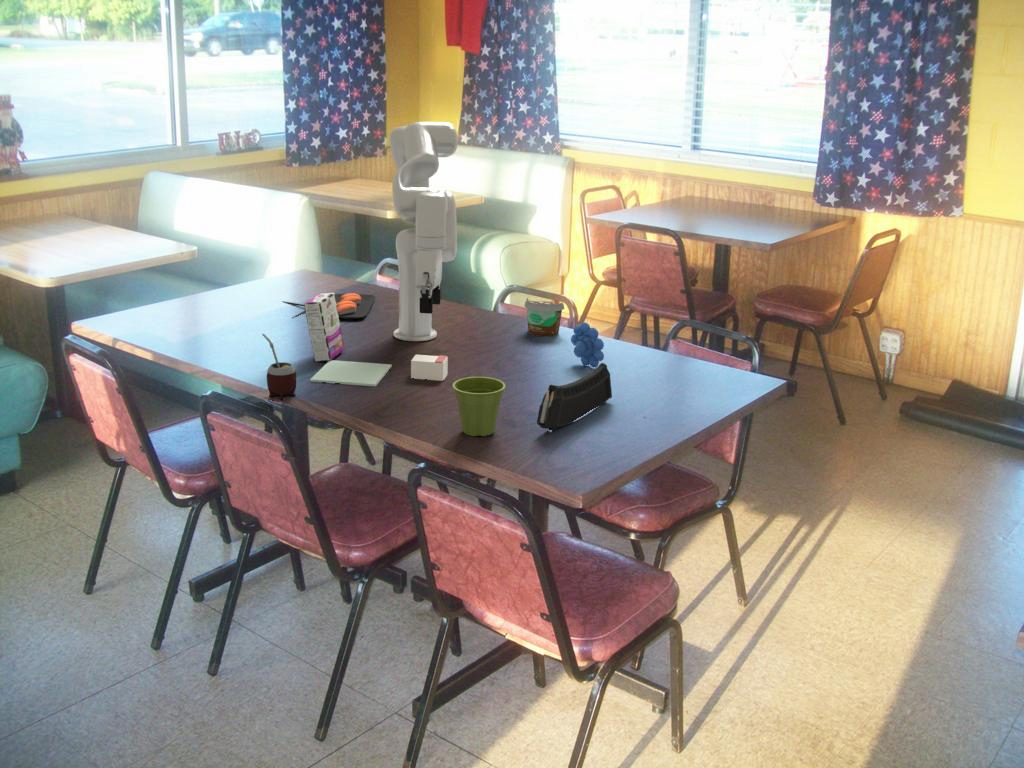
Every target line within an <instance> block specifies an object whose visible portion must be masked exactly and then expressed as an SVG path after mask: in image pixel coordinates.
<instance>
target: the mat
mask: <svg viewBox="0 0 1024 768" xmlns="http://www.w3.org/2000/svg"><path fill="white" fill-rule="evenodd" d="M392 367H393V365H392V364H389V363H388V364H387V363H377V362H376V363H375V362H362V361H350V360H349V361H347V360H337V359H336V360H335V359H334V360H333V359H332V360H331V361H327V362H326V363H325V364H324V365H323V366H322V367H321V368H320V369H319V370H318V371H317V372H316V373H315V374H314V375H313V376H312V377H311V378H310V380H309V382H312V383H322V382H326V383H325V384H335V383H340V384H339V385H347V386H348V385H349V386H364V387H377V385H378V384H379V383H380V382H381V380H383V378H384V377H385V376H386V374H387V373H389V371H390V370H389V369H392Z"/></svg>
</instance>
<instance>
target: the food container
mask: <svg viewBox="0 0 1024 768" xmlns="http://www.w3.org/2000/svg"><path fill="white" fill-rule="evenodd" d="M523 306H524V308H525V309H526V317H527V332H529V333H528V334H530V335H532V334H533V336H535V335H538V336H537V337H545V336H546V337H554V336H553V335H555V336H558V335H559V332H560V325H561V319H562V311H563V310H565V304H564V301H561V302H559V303H552V302H549V301H543V300H542V301H541V300H540V301H536V300H535V301H533V300H529V298H528V297H526V299H525V301H524V305H523ZM557 334H558V335H557Z"/></svg>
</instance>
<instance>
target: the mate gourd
mask: <svg viewBox="0 0 1024 768" xmlns="http://www.w3.org/2000/svg"><path fill="white" fill-rule="evenodd" d="M261 335H262V336H263V337H264V339H266V341H267V342H268V343H269V347H270V349H271V351H272V355H273V357H274V361H275V362H274V363H271V364H270V365H269V366H268V369H267V373H266V385H267V389H268V393H269V395H268V397H269V398H270V399H272V398H279V400H280V402H283V401H284V399H285V398H295V397H296V394H295V392H296V389H297V371H296V368H295V367H294V366H293V365H292V364H291V363H289V362H285V361H284V362H283V361H282V362H279V359H278V357H277V354H276V353H277V352H276V351H275V346H274V343H272V341H271V339H270V338H269V337H268V336H267V335H266V334H265V333H262V334H261Z"/></svg>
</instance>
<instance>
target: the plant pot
mask: <svg viewBox="0 0 1024 768" xmlns="http://www.w3.org/2000/svg"><path fill="white" fill-rule="evenodd" d="M451 386H452V388H453V389H454V393H455V397H456V398H457V403H458V410H459V416H460V423H461V428H462V429H461V430H462V432H463V433H464V434H465V435H466V436H467V435H468V436H470V437H477V436H481V437H487V435H488V436H491V435H492V434H494V433H495V429H496V425H497V424H496V423H497V419H498V413H499V407H500V402H501V398H502V395H503V392H504V390H505V388H506V384H505V382H503V381H502V380H500V379H498V378H494V377H489V376H469V377H464V378H459V379H457V380H456V381H454V382H453V383H452V385H451Z"/></svg>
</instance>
